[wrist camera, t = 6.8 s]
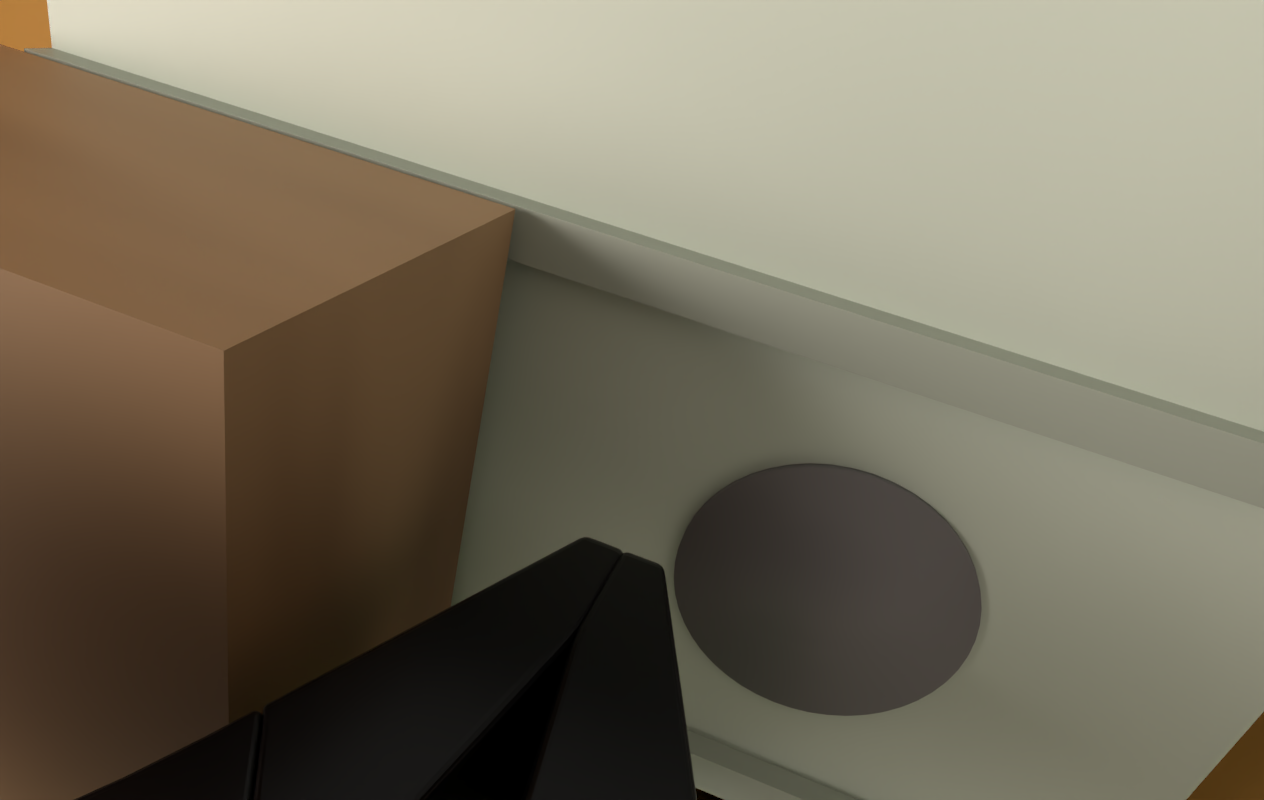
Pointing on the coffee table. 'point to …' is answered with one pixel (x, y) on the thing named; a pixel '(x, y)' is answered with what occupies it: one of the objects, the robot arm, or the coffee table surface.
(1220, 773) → the coffee table surface
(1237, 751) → the coffee table surface
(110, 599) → the brown wooden block
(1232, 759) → the coffee table surface
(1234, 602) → the board
